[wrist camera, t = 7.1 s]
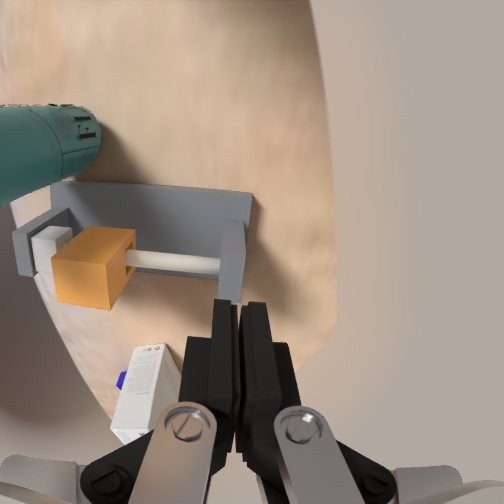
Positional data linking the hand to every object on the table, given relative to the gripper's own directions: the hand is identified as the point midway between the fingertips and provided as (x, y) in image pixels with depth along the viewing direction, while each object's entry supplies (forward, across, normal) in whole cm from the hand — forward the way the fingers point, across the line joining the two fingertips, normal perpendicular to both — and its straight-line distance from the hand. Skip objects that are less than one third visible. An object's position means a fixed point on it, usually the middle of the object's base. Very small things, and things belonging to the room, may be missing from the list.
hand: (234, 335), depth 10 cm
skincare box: (+18, +7, +21) cm, 28 cm away
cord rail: (+19, +8, +4) cm, 21 cm away
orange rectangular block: (+13, +9, +4) cm, 17 cm away
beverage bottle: (+19, +15, -4) cm, 25 cm away
